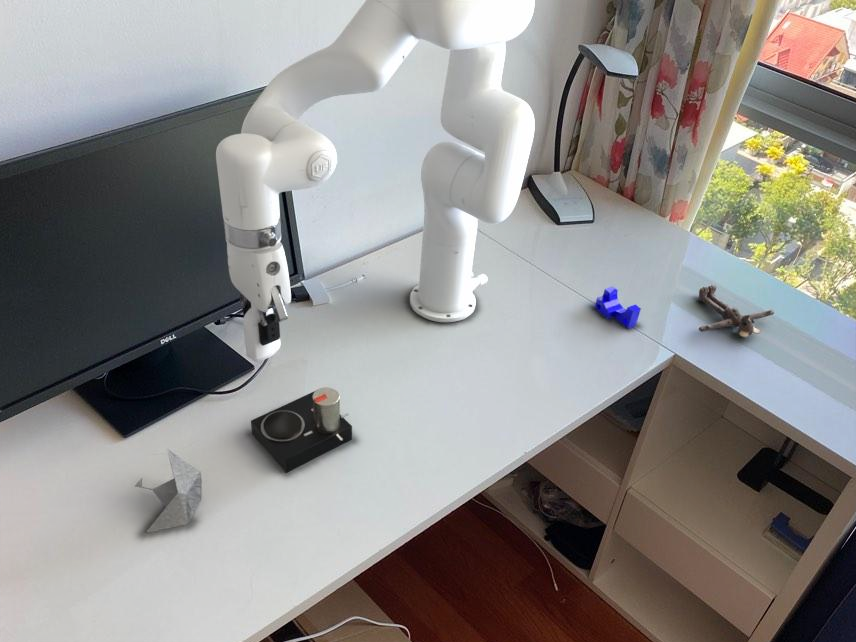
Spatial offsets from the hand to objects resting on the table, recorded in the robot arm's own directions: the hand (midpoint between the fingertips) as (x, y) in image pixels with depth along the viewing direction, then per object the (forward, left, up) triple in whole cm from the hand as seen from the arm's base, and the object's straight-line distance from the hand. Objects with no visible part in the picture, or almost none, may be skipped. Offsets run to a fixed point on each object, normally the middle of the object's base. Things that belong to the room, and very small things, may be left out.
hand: (262, 332), depth 122 cm
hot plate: (0, +10, -14) cm, 17 cm away
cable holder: (-66, +17, -14) cm, 70 cm away
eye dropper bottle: (0, 0, -4) cm, 4 cm away
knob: (-3, +12, -11) cm, 17 cm away
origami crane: (+22, +10, -14) cm, 28 cm away
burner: (+3, +9, -11) cm, 15 cm away
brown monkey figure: (-84, +30, -14) cm, 90 cm away
